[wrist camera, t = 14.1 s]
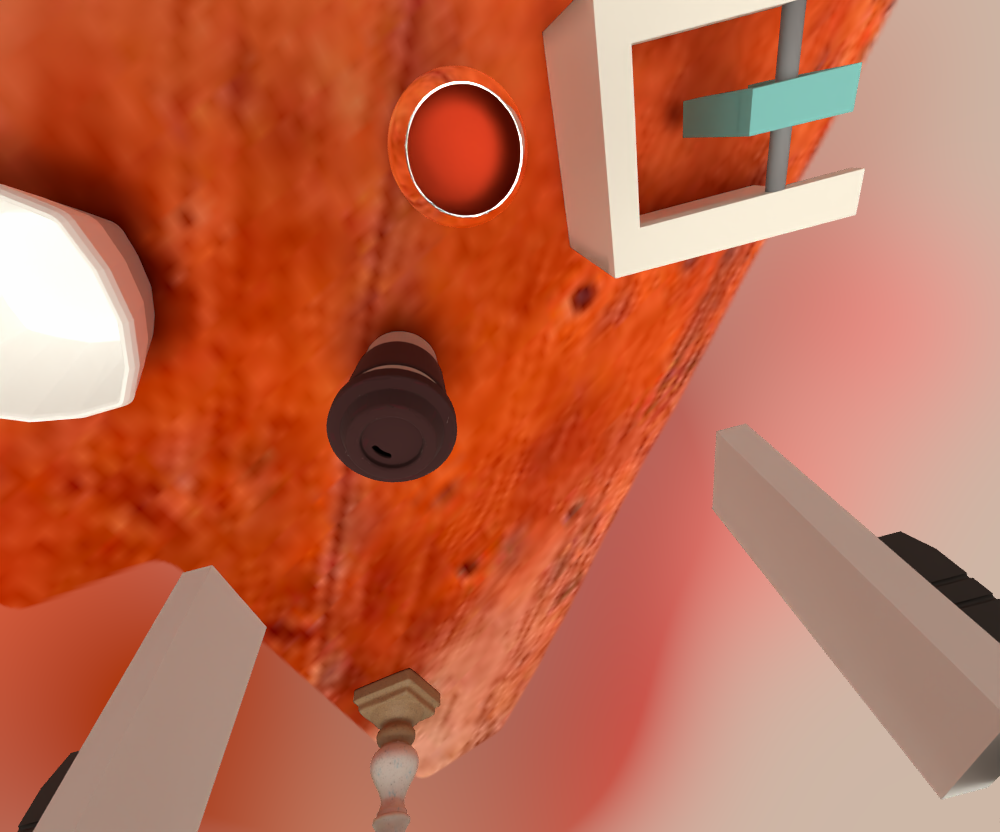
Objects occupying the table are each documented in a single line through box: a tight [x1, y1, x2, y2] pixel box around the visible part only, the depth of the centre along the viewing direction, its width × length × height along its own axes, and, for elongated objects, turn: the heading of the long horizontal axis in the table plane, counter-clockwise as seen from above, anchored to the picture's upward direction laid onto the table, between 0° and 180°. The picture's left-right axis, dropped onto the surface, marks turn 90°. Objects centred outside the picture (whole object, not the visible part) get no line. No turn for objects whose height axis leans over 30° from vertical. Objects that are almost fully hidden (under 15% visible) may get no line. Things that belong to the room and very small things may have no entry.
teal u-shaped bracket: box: [683, 62, 862, 138], centre depth 30 cm, size 2×6×9 cm, turn 102°
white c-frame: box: [542, 0, 865, 278], centre depth 33 cm, size 16×18×12 cm
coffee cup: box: [327, 331, 457, 482], centre depth 40 cm, size 10×10×15 cm
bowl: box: [0, 184, 155, 422], centre depth 34 cm, size 18×18×9 cm
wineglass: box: [388, 65, 528, 228], centre depth 29 cm, size 8×8×18 cm
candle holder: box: [353, 669, 440, 832], centre depth 67 cm, size 11×11×24 cm
